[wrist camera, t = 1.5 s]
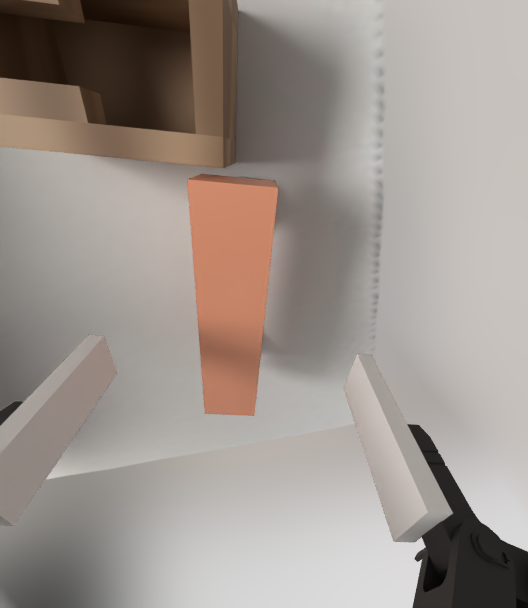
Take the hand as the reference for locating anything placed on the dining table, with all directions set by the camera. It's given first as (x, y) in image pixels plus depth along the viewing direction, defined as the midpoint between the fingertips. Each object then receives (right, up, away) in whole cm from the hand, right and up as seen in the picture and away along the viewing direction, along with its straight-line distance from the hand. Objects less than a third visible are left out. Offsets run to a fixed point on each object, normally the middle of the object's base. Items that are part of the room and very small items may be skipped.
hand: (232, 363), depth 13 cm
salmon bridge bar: (0, +5, +8) cm, 10 cm away
